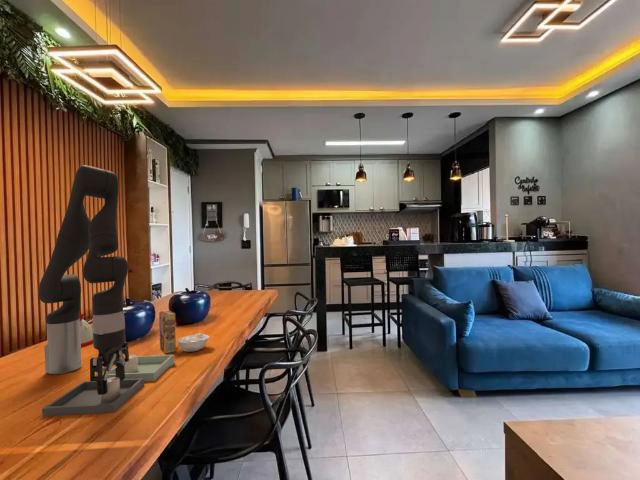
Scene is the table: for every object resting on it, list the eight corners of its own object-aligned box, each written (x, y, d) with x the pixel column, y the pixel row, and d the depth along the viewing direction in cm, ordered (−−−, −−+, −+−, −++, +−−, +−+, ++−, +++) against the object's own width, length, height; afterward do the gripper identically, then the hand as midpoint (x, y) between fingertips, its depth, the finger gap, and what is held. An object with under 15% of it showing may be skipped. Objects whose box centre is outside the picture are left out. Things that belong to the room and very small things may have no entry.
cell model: (178, 348, 134) (177, 332, 134) (209, 344, 138) (208, 328, 138) (177, 357, 125) (176, 339, 124) (210, 352, 129) (209, 335, 129)
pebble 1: (97, 403, 89) (96, 384, 89) (107, 394, 93) (106, 377, 93) (114, 402, 89) (113, 383, 89) (123, 394, 93) (122, 376, 93)
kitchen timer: (75, 350, 136) (73, 314, 136) (46, 349, 138) (45, 314, 138) (102, 339, 149) (101, 307, 149) (76, 339, 152) (75, 307, 151)
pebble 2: (119, 375, 106) (119, 360, 106) (127, 369, 111) (126, 355, 111) (134, 374, 107) (133, 359, 107) (141, 369, 111) (140, 354, 111)
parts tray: (42, 420, 83) (42, 408, 83) (84, 391, 98) (83, 381, 98) (114, 416, 83) (113, 404, 83) (144, 387, 99) (143, 378, 99)
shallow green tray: (102, 386, 101) (102, 375, 101) (129, 366, 116) (129, 356, 116) (154, 384, 102) (154, 372, 101) (174, 364, 117) (174, 354, 117)
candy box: (177, 351, 131) (175, 313, 131) (165, 354, 128) (164, 315, 128) (170, 345, 138) (169, 309, 137) (159, 348, 135) (158, 311, 135)
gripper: (110, 322, 98) (112, 376, 98) (77, 337, 84) (80, 400, 84) (136, 321, 98) (138, 375, 98) (107, 335, 84) (111, 398, 84)
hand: (112, 386), depth 91 cm, fingers open, 8 cm apart
